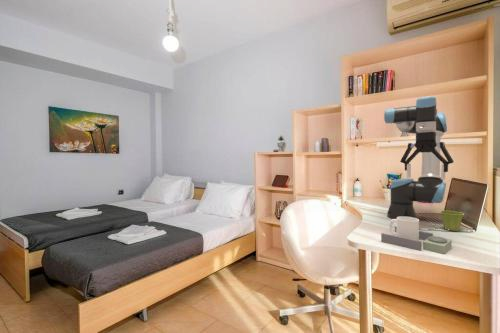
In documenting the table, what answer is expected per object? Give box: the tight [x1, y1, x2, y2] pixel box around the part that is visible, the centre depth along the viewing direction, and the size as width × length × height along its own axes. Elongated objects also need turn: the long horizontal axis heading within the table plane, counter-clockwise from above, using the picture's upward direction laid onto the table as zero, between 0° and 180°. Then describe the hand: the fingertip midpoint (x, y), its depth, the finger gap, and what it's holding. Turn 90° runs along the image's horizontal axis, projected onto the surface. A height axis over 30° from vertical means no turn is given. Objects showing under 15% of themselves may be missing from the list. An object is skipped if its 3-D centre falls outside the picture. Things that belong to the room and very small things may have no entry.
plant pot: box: [439, 210, 465, 232], centre depth 128 cm, size 9×9×9 cm
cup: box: [388, 217, 420, 241], centre depth 113 cm, size 8×12×10 cm
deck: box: [380, 226, 453, 255], centre depth 110 cm, size 16×22×4 cm
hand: (425, 178), depth 118 cm, fingers open, 13 cm apart
